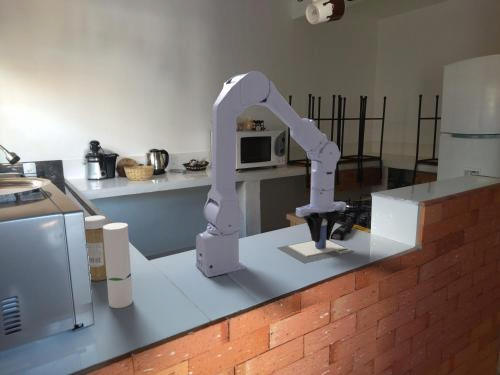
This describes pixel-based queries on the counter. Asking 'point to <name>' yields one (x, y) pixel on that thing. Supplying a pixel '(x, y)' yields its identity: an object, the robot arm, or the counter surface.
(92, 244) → the sprinkles bottle
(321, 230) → the marker
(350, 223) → the electric trimmer
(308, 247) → the paper
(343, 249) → the word tile
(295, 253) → the desk mat
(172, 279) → the counter surface
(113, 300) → the tube
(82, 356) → the counter surface
